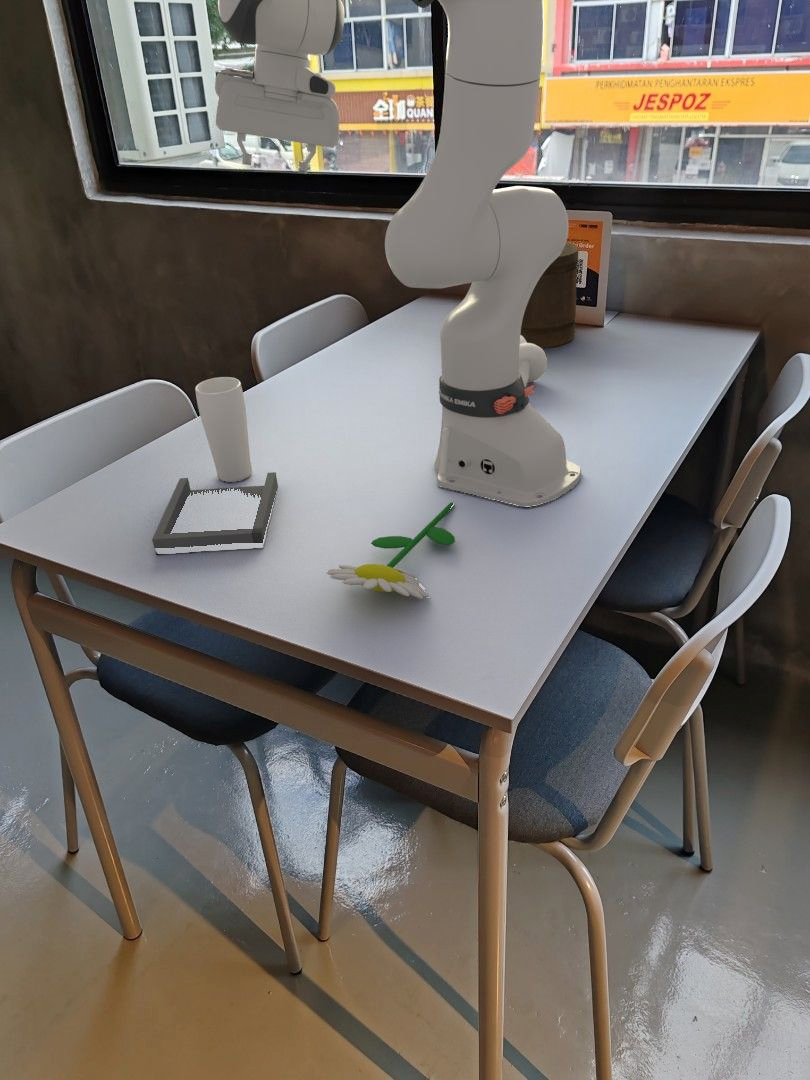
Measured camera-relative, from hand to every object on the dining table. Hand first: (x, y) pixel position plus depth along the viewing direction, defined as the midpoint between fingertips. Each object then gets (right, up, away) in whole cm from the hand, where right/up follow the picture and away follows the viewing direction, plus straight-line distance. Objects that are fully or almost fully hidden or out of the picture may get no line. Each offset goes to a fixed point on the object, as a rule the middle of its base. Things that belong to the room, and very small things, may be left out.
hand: (274, 169), depth 140 cm
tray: (-4, -60, -23) cm, 64 cm away
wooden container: (+50, -20, +35) cm, 64 cm away
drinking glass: (-4, -53, -12) cm, 55 cm away
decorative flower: (+23, -66, -35) cm, 78 cm away
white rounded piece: (+42, -35, +12) cm, 56 cm away
